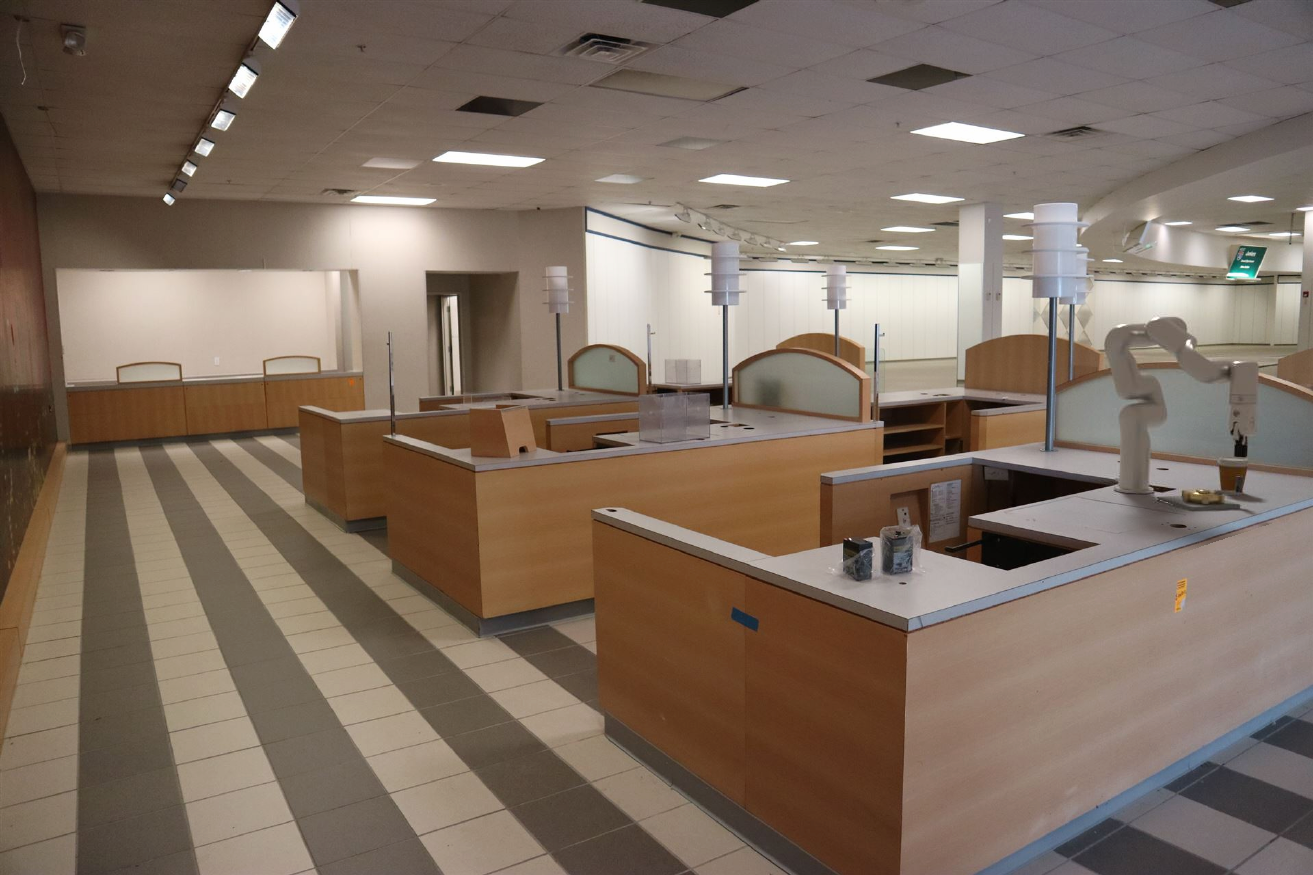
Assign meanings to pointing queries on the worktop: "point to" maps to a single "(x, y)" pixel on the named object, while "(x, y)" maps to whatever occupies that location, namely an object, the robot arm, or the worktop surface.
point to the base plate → (1197, 504)
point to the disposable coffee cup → (1231, 471)
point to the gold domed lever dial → (1212, 494)
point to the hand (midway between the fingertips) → (1240, 456)
